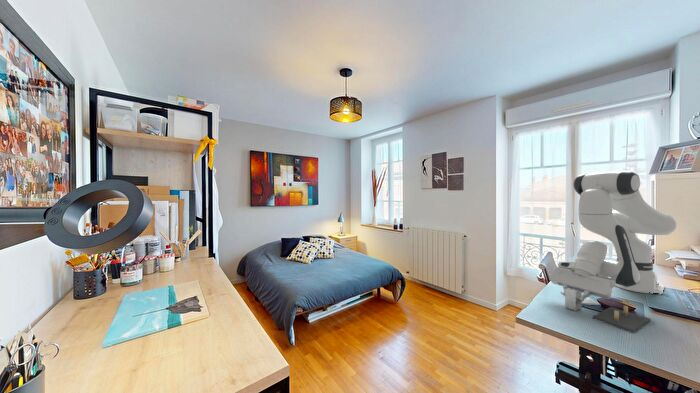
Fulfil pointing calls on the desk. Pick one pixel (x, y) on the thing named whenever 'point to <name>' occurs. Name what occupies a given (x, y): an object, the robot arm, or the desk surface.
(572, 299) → the clear tall piece
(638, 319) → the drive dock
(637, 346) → the desk surface
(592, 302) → the external hard drive
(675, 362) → the desk surface
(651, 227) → the robot arm
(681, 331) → the desk surface
